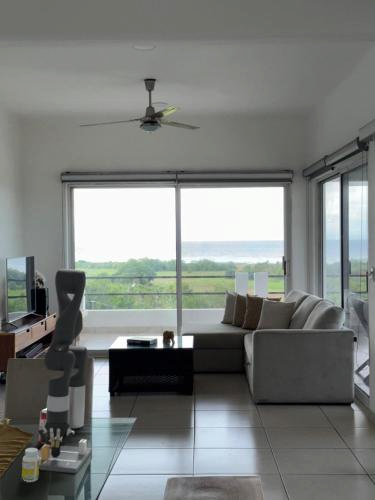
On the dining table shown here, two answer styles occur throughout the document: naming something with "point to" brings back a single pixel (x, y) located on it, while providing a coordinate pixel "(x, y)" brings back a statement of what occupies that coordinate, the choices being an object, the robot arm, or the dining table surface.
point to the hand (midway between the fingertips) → (55, 456)
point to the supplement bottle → (30, 465)
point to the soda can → (43, 424)
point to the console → (64, 460)
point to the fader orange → (45, 452)
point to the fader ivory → (82, 447)
